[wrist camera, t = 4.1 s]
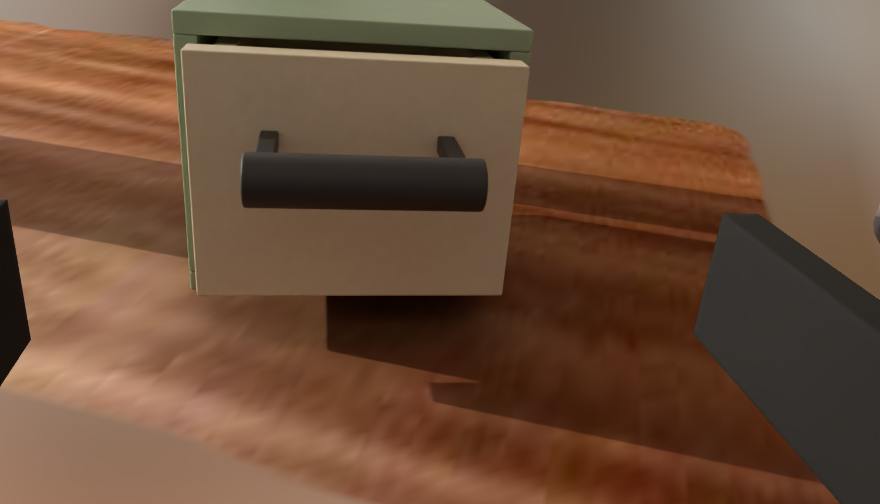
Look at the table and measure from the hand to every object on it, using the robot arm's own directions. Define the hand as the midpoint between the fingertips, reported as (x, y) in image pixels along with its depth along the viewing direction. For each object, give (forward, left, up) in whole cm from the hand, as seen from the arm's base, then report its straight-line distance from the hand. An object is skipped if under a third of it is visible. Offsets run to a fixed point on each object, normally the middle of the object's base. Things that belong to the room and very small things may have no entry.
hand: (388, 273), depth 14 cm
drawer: (+7, -15, -7) cm, 18 cm away
